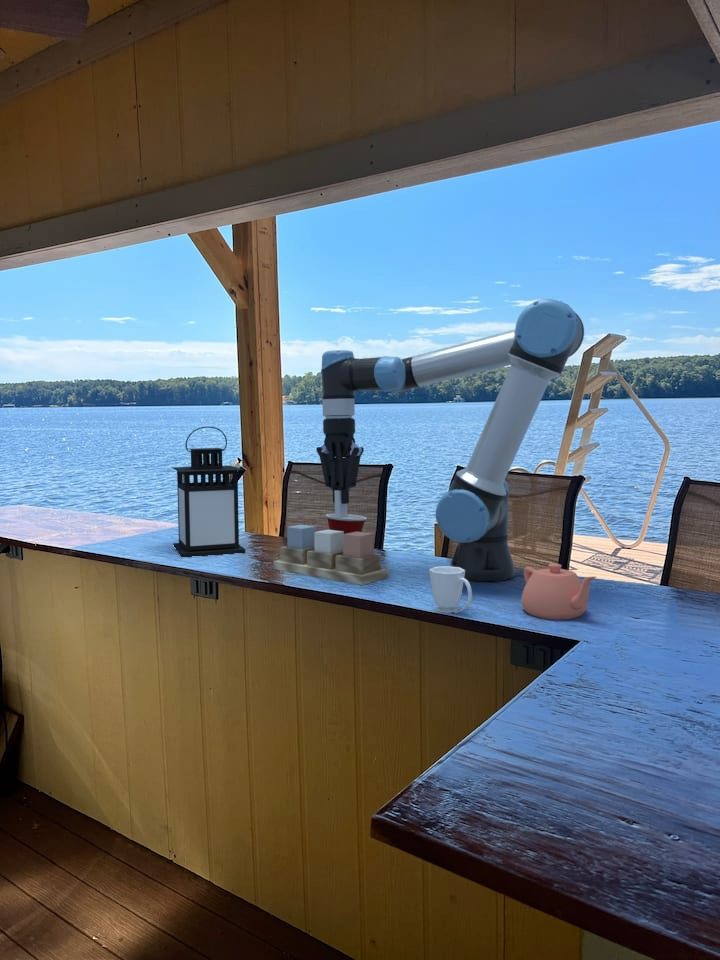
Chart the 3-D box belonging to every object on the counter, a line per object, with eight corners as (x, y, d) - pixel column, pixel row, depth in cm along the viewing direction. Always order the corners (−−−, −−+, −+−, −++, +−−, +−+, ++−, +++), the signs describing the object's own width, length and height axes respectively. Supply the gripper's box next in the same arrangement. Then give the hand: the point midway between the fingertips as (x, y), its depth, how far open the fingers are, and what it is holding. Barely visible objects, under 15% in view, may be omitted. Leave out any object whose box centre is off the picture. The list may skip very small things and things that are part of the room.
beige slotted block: (388, 577, 173) (388, 554, 172) (362, 585, 165) (362, 561, 165) (301, 562, 190) (300, 541, 190) (273, 569, 183) (273, 547, 182)
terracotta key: (373, 558, 172) (373, 533, 172) (360, 562, 168) (360, 536, 168) (356, 556, 175) (356, 531, 175) (343, 559, 171) (343, 534, 171)
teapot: (545, 599, 153) (546, 554, 152) (616, 620, 137) (617, 569, 136) (501, 607, 146) (502, 560, 145) (570, 630, 131) (572, 577, 130)
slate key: (316, 550, 183) (315, 526, 183) (302, 553, 179) (302, 528, 179) (301, 547, 186) (301, 524, 186) (287, 550, 183) (287, 526, 182)
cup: (447, 603, 149) (447, 564, 148) (483, 614, 141) (484, 572, 140) (421, 609, 145) (421, 568, 144) (457, 620, 137) (457, 577, 136)
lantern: (232, 543, 220) (230, 425, 216) (245, 553, 204) (243, 426, 200) (173, 547, 213) (170, 426, 210) (181, 557, 197) (178, 427, 194)
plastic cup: (372, 562, 190) (372, 516, 189) (331, 565, 187) (331, 518, 186) (360, 555, 200) (360, 511, 199) (321, 557, 198) (321, 512, 196)
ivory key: (343, 556, 178) (343, 531, 177) (330, 559, 174) (330, 534, 173) (328, 553, 181) (328, 529, 180) (314, 556, 177) (314, 532, 176)
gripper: (370, 416, 171) (372, 517, 173) (328, 417, 179) (331, 513, 181) (350, 417, 165) (352, 521, 167) (307, 418, 174) (310, 517, 176)
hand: (341, 517), depth 174 cm, fingers closed
